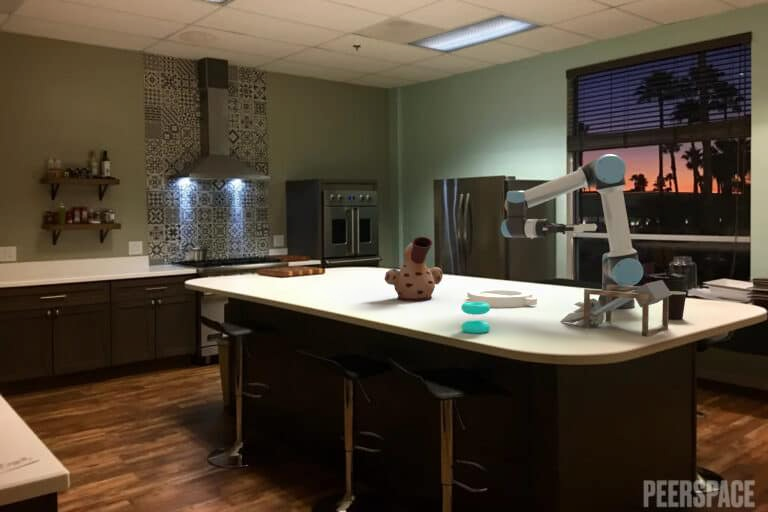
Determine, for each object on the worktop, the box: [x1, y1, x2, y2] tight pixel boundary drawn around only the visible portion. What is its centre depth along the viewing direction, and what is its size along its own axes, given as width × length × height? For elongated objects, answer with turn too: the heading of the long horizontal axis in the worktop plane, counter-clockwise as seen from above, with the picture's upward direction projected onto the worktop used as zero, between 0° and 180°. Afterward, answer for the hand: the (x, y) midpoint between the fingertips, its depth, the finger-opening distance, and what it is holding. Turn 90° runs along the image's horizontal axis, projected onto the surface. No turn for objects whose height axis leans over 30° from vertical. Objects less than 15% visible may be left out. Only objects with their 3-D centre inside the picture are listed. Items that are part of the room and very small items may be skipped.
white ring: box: [466, 288, 538, 308], centre depth 297 cm, size 28×28×5 cm
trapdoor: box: [593, 279, 671, 315], centre depth 230 cm, size 22×15×7 cm
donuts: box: [460, 301, 491, 334], centre depth 229 cm, size 10×10×10 cm
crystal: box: [560, 297, 605, 326], centre depth 242 cm, size 10×13×15 cm
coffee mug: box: [668, 290, 687, 321], centre depth 251 cm, size 12×9×10 cm
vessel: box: [384, 236, 444, 302], centre depth 309 cm, size 29×22×30 cm
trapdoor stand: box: [583, 284, 670, 337], centre depth 231 cm, size 23×19×14 cm
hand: (589, 228), depth 253 cm, fingers open, 13 cm apart
